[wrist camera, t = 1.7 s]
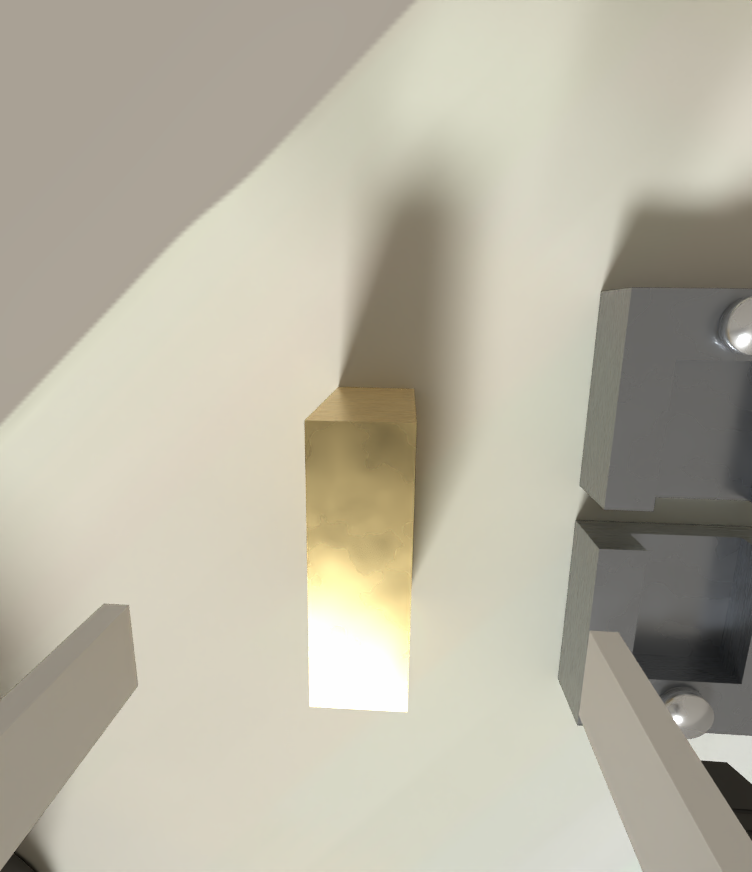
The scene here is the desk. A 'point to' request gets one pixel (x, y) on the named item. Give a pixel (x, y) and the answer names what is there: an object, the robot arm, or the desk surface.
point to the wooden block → (360, 547)
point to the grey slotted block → (669, 478)
